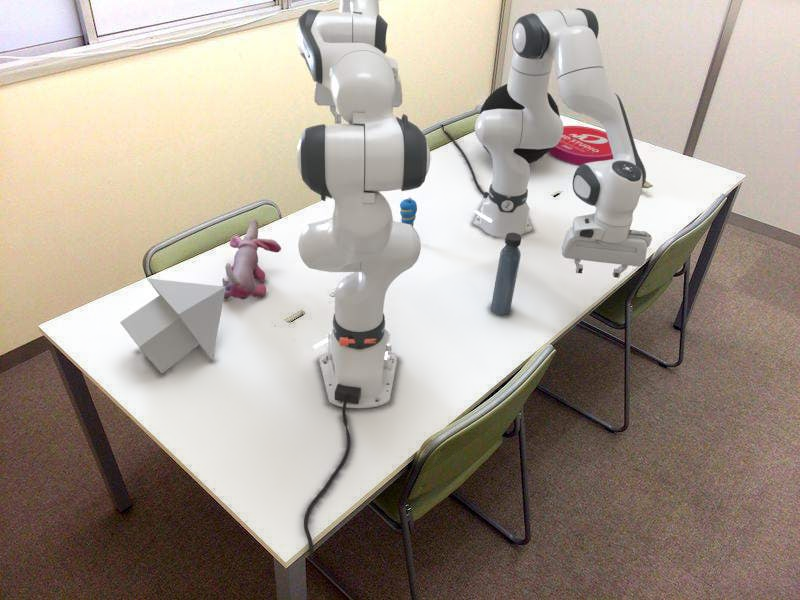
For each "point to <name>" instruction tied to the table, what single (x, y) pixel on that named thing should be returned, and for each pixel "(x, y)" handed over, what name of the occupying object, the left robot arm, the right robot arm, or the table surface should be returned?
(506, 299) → the bottle
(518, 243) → the cap
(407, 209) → the ornament
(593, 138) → the sign
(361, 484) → the table surface
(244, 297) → the toy
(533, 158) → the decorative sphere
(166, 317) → the pyramid on cube
